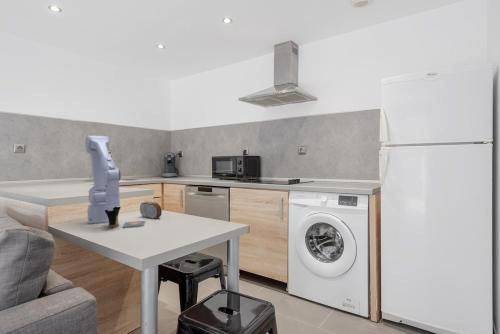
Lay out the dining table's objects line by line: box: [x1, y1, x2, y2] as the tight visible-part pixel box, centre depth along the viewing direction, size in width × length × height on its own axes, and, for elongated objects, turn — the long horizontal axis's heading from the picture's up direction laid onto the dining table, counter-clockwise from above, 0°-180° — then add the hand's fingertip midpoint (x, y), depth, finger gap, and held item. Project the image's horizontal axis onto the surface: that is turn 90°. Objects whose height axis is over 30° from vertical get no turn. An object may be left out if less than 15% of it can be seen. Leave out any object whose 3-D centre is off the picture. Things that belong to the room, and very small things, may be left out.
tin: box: [139, 201, 162, 220], centre depth 151 cm, size 15×3×8 cm, turn 58°
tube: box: [108, 214, 119, 229], centre depth 132 cm, size 4×4×5 cm
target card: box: [122, 220, 146, 229], centre depth 134 cm, size 9×10×1 cm
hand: (113, 223), depth 132 cm, fingers closed on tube, 4 cm apart
